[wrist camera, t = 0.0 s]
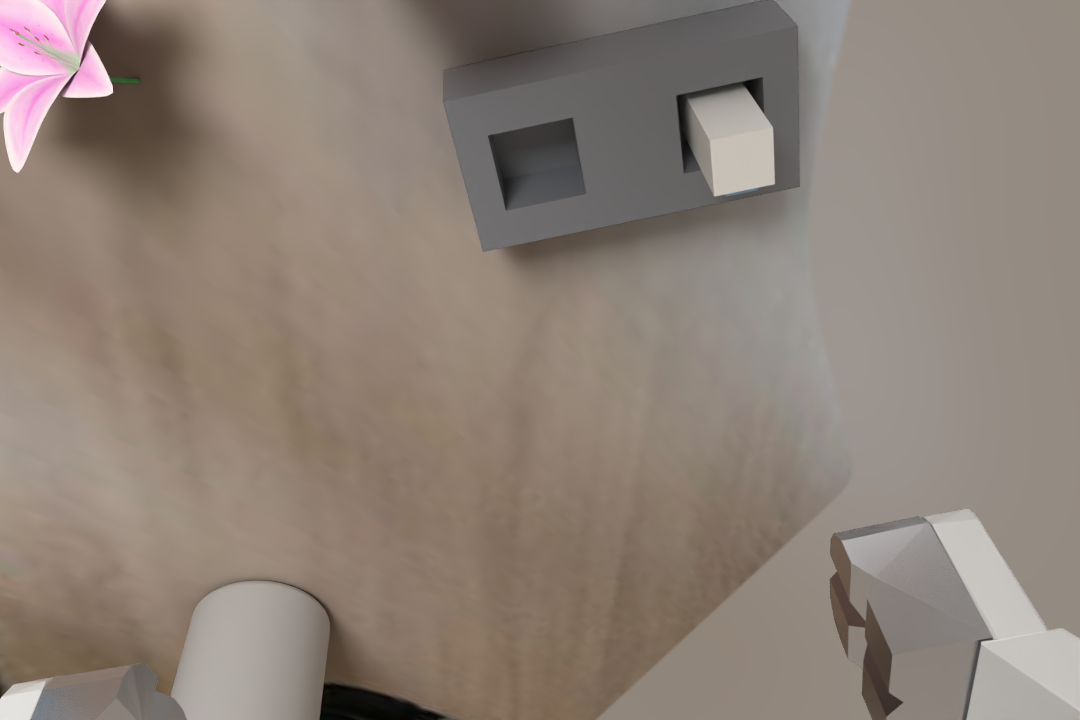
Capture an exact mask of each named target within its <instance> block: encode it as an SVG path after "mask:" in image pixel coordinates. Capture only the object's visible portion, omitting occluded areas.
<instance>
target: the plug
mask: <svg viewBox="0 0 1080 720" xmlns="http://www.w3.org/2000/svg"><path fill="white" fill-rule="evenodd" d="M678 97H679V107H680V117H681V127H682V132H683V134H684V136H685V138H686V140H687V142H688V144H689V146H690V148H691V150H692V152H693V154H694V156H695V158H696V160H697V162H698V164H699V167H700V169H701V171H702V173H703V175H704V177H705V179H706V181H707V183H708V185H709V187H710V189H711V191H712V193H713V195H714V197H715V196H720V195H726V197H727V196H732V195H737V194H741V193H746V192H751V191H756V190H758V188H759V187H764V186H769V185H773V184H775V171H774V140H773V127H772V125H771V124H770V122H769V121H768V119H767V118H766V116H765V115H764V113H763V112H762V111H761V109H760V108H759V106H758V105H757V103H756V102H755V100H754V99H753V97H752V96H751V94H750V93H749V92H748V90H747V89H746V87H745V86H744V84H743V83H742V82H737V83H732V84H728V85H723V86H718V87H714V88H709V89H704V90H699V91H695V92H690V93H685V94H681V95H678Z"/></svg>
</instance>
